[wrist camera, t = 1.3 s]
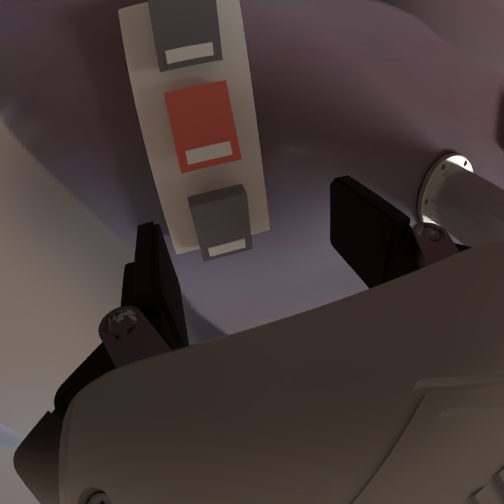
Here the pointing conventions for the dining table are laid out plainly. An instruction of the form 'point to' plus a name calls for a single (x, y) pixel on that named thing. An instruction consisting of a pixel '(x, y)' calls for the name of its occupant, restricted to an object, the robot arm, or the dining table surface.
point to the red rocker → (202, 126)
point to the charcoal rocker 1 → (185, 32)
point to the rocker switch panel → (159, 129)
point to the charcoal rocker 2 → (221, 221)
